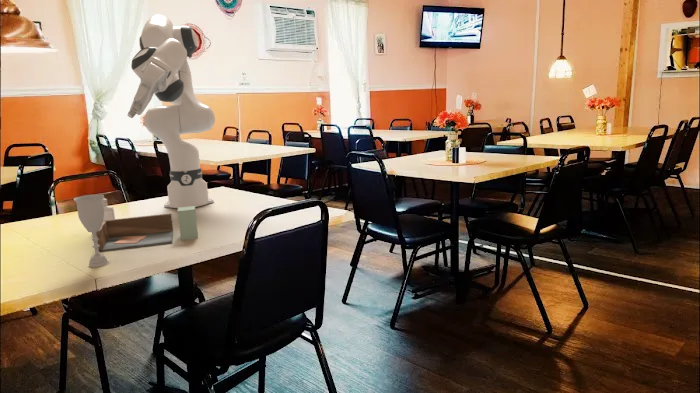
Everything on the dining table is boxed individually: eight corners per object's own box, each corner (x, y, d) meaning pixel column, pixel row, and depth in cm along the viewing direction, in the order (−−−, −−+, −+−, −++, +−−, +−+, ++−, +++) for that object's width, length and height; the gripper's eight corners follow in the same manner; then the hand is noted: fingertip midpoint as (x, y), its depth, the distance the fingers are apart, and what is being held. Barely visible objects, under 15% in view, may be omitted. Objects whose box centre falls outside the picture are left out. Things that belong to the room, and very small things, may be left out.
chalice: (98, 258, 142) (88, 194, 138) (119, 260, 140) (110, 194, 136) (77, 267, 135) (66, 199, 131) (99, 269, 133) (88, 200, 129)
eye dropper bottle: (110, 233, 168) (104, 196, 166) (95, 232, 170) (89, 196, 167) (118, 229, 172) (114, 194, 170) (104, 229, 174) (99, 193, 171)
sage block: (181, 236, 161) (177, 207, 159) (197, 234, 162) (194, 205, 161) (180, 240, 156) (177, 211, 155) (198, 238, 158) (195, 209, 156)
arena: (105, 239, 161) (102, 220, 160) (173, 231, 167) (171, 213, 165) (97, 252, 148) (94, 231, 147) (171, 243, 153) (169, 223, 152)
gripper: (138, 89, 169) (116, 119, 162) (153, 52, 154) (129, 83, 146) (156, 100, 171) (135, 130, 164) (173, 65, 156) (150, 96, 148)
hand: (133, 108), depth 155 cm, fingers open, 8 cm apart
